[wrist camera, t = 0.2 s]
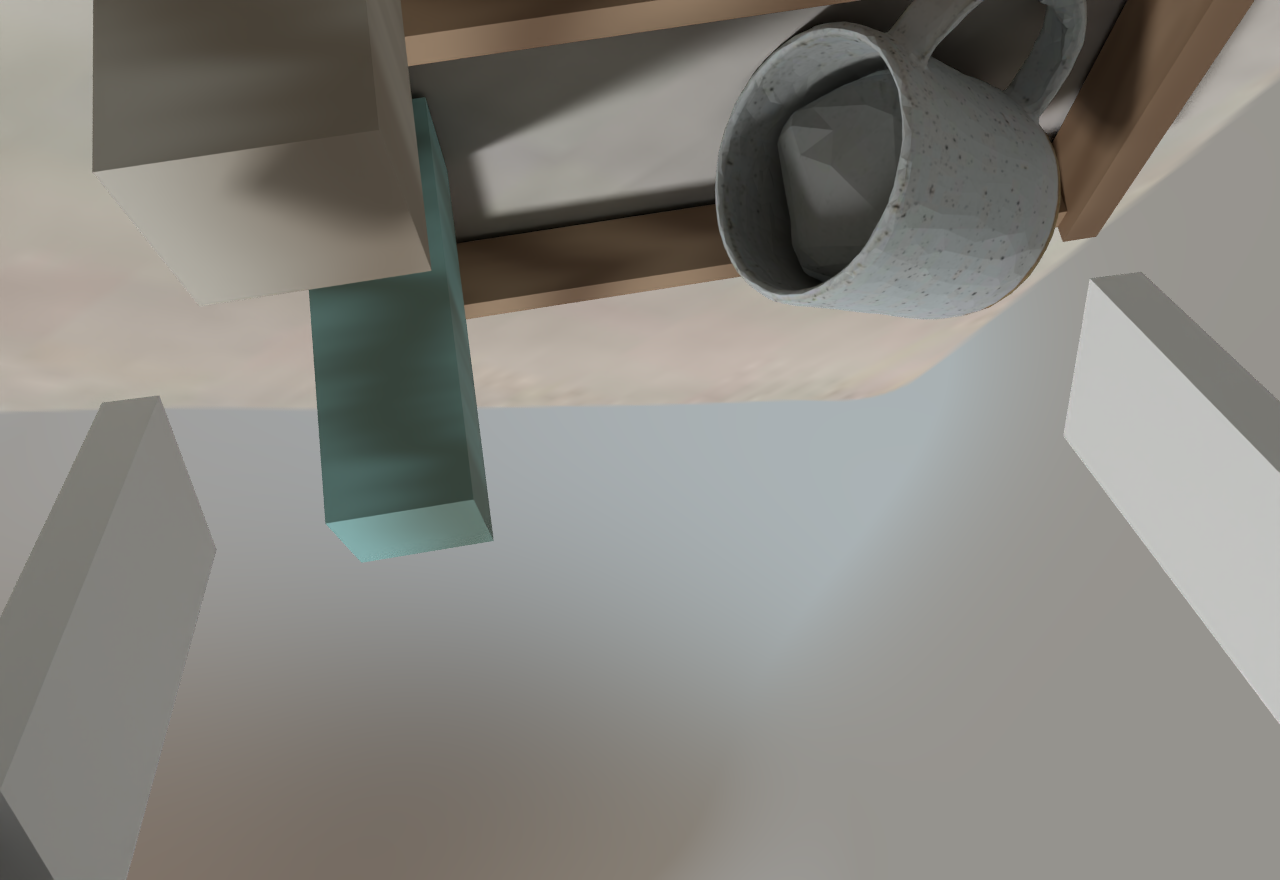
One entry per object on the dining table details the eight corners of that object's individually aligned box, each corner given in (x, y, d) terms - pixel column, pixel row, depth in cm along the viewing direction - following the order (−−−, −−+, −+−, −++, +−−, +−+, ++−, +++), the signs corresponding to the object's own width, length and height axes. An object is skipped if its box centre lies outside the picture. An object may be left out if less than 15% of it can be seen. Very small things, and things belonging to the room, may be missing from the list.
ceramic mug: (870, 184, 41) (928, 378, 38) (688, 129, 36) (740, 346, 33) (1130, -23, 33) (1227, 201, 30) (944, -128, 29) (1038, 126, 26)
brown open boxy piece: (370, 272, 40) (401, 605, 36) (231, -21, 27) (255, 447, 23) (1070, 164, 42) (1181, 476, 37) (1258, -166, 29) (1461, 255, 24)
